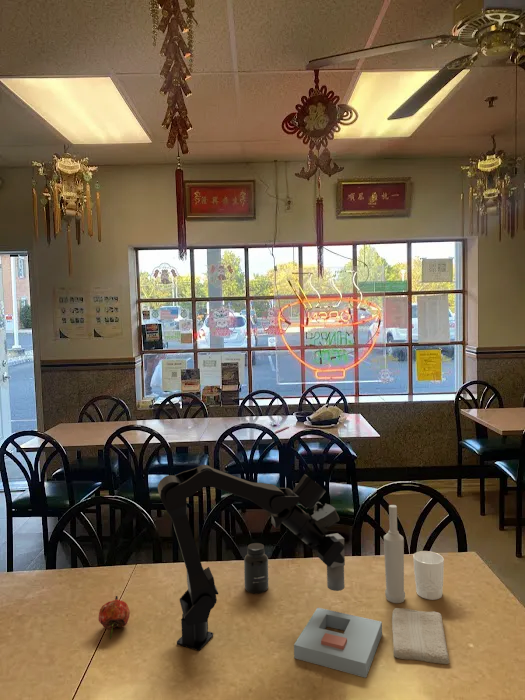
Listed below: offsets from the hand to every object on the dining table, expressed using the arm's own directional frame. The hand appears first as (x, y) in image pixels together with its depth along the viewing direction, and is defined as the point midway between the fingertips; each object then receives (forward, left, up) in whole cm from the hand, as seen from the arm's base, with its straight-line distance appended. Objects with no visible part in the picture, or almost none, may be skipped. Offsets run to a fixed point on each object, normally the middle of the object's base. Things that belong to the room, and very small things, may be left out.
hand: (339, 558), depth 126 cm
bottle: (+10, -12, -13) cm, 20 cm away
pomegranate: (-30, +49, -13) cm, 59 cm away
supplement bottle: (+1, +25, -13) cm, 28 cm away
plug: (-1, +1, -7) cm, 7 cm away
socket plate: (-15, -4, -13) cm, 20 cm away
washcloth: (-5, -20, -14) cm, 25 cm away
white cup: (+16, -20, -13) cm, 29 cm away
